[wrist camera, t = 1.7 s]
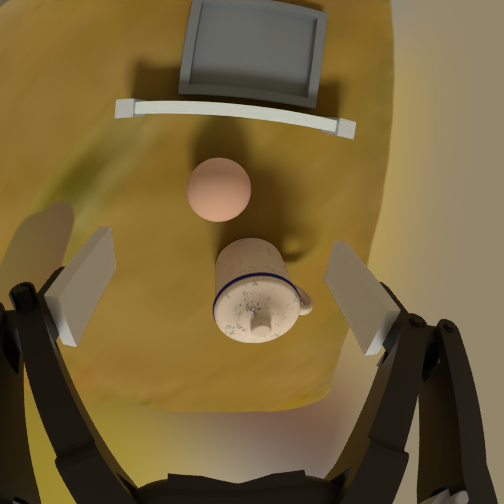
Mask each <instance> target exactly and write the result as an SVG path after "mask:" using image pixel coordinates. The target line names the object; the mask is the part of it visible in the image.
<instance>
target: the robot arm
mask: <svg viewBox="0 0 504 504" xmlns="http://www.w3.org/2000/svg"><path fill="white" fill-rule="evenodd" d="M115 270H116V262H115V255H114V247H113V239H112V229H111V227H99V228H98V229H97V230H96V231H95V233H94V234H93V235H92V236H91V237H90V238H89V239H88V240H87V242H86V243H85V244H84V245H83V246H82V247H81V249H80V250H79V251H78V252H77V253H76V254H75V256H74V257H73V258H72V259H71V261H70V262H69V263H68V264H67V265H66V267H63V266H62V267H60V268H59V269H57V270H56V271H54V273H53V274H52V275H51V276H50V279H48V280H47V281H46V284H44V286H43V287H42V288H41V289H40V291H39V292H38V293H36V290H35V287H34V285H33V284H32V283H30V282H23V283H20V284H17V285H16V286H14V287H13V288H12V289H11V291H10V293H9V297H10V300H11V302H12V305H13V307H14V310H9V311H5V308H4V306H3V304H2V303H0V504H41V500H40V496H39V491H38V487H37V483H36V480H35V475H34V471H33V466H32V461H31V456H30V451H29V444H28V437H27V429H26V419H25V407H24V363H25V368H26V372H27V376H28V379H29V383H30V386H31V390H32V393H33V396H34V400H35V403H36V406H37V409H38V412H39V414H40V417H41V420H42V422H43V425H44V428H45V430H46V433H47V435H48V437H49V440H50V442H51V444H52V446H53V448H54V451H55V453H56V456H57V458H56V459H55V464H56V467H57V469H58V471H59V473H60V475H61V477H62V479H63V481H64V483H65V484H66V486H67V488H68V490H69V491H70V493H71V495H72V496H73V498H74V500H75V502H76V503H77V504H392V503H393V501H394V498H395V496H396V494H397V491H398V489H399V486H400V483H401V481H402V478H403V475H404V472H405V469H406V466H407V463H408V459H409V454H408V453H407V452H405V451H404V448H405V445H406V441H407V438H408V434H409V431H410V427H411V423H412V419H413V415H414V410H415V406H416V402H417V397H418V396H419V397H418V398H419V427H420V428H419V437H420V439H419V440H420V441H419V465H418V479H417V504H498V502H497V498H496V495H495V491H494V487H493V484H492V480H491V477H490V474H489V470H488V468H487V463H486V450H485V440H484V432H483V425H482V418H481V413H480V407H479V402H478V397H477V393H476V388H475V384H474V380H473V376H472V372H471V368H470V365H469V361H468V357H467V354H466V351H465V348H464V345H463V341H462V338H461V335H460V332H459V330H458V328H457V326H456V325H455V324H454V323H453V322H452V321H450V320H447V319H441V320H440V321H439V322H438V324H437V326H430V325H427V323H426V322H425V320H424V319H423V318H422V317H420V316H418V315H416V314H413V313H408V312H407V310H406V309H405V308H404V307H403V305H402V304H401V303H400V301H399V300H398V299H397V297H396V296H395V295H394V294H393V292H392V291H391V290H390V289H389V287H387V286H386V285H385V284H383V283H382V282H378V280H377V279H376V278H375V276H374V275H373V274H372V273H371V271H370V270H369V269H368V268H367V266H366V265H365V264H364V263H363V262H362V260H361V259H360V258H359V257H358V256H357V254H356V253H355V252H354V251H353V250H352V248H351V247H350V246H349V245H348V244H347V243H346V241H334V245H333V248H332V252H331V256H330V259H329V263H328V266H327V270H326V273H325V277H324V280H325V282H326V284H327V285H328V287H329V289H330V291H331V293H332V295H333V296H334V298H335V300H336V302H337V304H338V306H339V307H340V309H341V311H342V313H343V315H344V317H345V319H346V321H347V322H348V324H349V326H350V328H351V330H352V332H353V334H354V336H355V338H356V340H357V342H358V344H359V345H360V348H361V349H362V351H363V353H364V355H372V354H377V353H378V352H379V350H380V348H381V347H382V345H383V346H384V348H385V350H386V351H385V352H384V354H383V356H382V357H381V359H380V361H379V362H378V364H377V366H379V368H378V370H377V373H376V376H375V379H374V381H373V384H372V387H371V389H370V392H369V394H368V397H367V399H366V402H365V404H364V406H363V409H362V411H361V413H360V416H359V418H358V420H357V422H356V425H355V427H354V429H353V431H352V433H351V435H350V437H349V439H348V441H347V443H346V445H345V447H344V449H343V451H342V453H341V455H340V457H339V459H338V460H337V462H336V464H335V465H334V467H333V468H332V469H331V471H330V472H329V473H328V474H327V476H326V477H325V478H324V479H321V478H317V477H313V476H306V475H305V471H304V470H299V471H292V472H284V473H275V474H270V475H267V476H264V477H261V478H258V479H254V480H251V481H247V482H244V483H239V484H238V483H231V482H226V481H221V480H216V479H212V478H208V477H204V476H192V475H179V474H168V479H164V480H159V481H155V482H151V483H149V484H146V485H144V486H142V487H140V488H138V487H137V486H136V485H135V484H134V482H133V481H132V480H131V479H130V477H129V476H128V475H127V474H126V473H125V471H124V470H123V469H122V468H121V466H120V465H119V463H118V462H117V461H116V459H115V458H114V456H113V455H112V453H111V452H110V450H109V449H108V447H107V445H106V444H105V442H104V441H103V439H102V437H101V436H100V434H99V432H98V430H97V429H96V427H95V426H94V423H93V422H92V420H91V419H90V416H89V414H88V412H87V411H86V409H85V407H84V405H83V403H82V401H81V399H80V397H79V395H78V392H77V390H76V388H75V386H74V384H73V382H72V379H71V377H70V375H69V372H68V370H67V368H66V365H65V363H64V360H63V358H62V355H61V352H60V350H59V347H58V345H57V342H56V340H57V338H58V336H60V338H61V340H62V343H63V344H65V345H70V346H74V347H77V345H78V343H79V341H80V339H81V336H82V334H83V332H84V330H85V328H86V326H87V323H88V321H89V319H90V317H91V315H92V313H93V311H94V309H95V307H96V305H97V303H98V301H99V299H100V297H101V296H102V294H103V292H104V290H105V288H106V286H107V284H108V282H109V281H110V279H111V277H112V275H113V273H114V272H115ZM439 362H440V363H439Z"/></svg>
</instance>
